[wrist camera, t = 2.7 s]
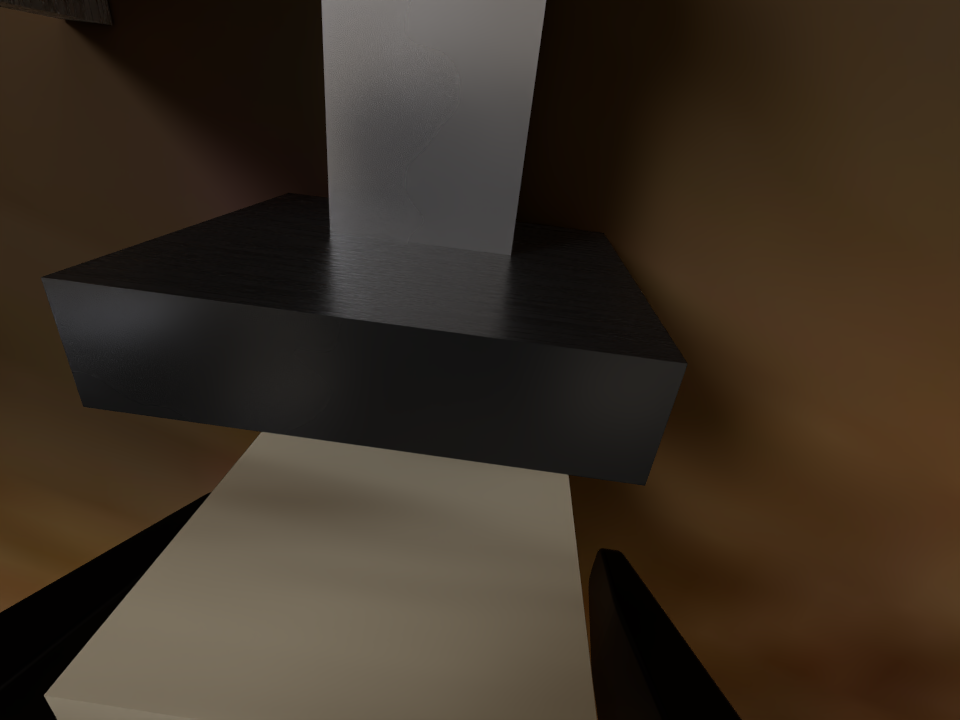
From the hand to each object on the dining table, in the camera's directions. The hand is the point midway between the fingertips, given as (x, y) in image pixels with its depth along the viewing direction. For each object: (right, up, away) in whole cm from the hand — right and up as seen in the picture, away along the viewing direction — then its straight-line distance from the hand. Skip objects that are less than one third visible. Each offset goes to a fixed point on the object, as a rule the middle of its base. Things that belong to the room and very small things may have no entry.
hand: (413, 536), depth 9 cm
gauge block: (0, +1, +1) cm, 1 cm away
